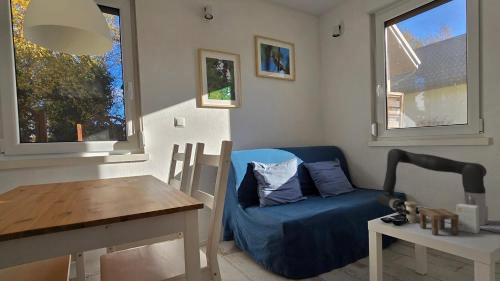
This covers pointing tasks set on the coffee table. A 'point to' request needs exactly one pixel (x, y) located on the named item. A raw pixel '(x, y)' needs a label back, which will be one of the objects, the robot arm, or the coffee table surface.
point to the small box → (468, 218)
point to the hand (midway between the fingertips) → (413, 212)
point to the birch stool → (411, 211)
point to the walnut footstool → (438, 219)
